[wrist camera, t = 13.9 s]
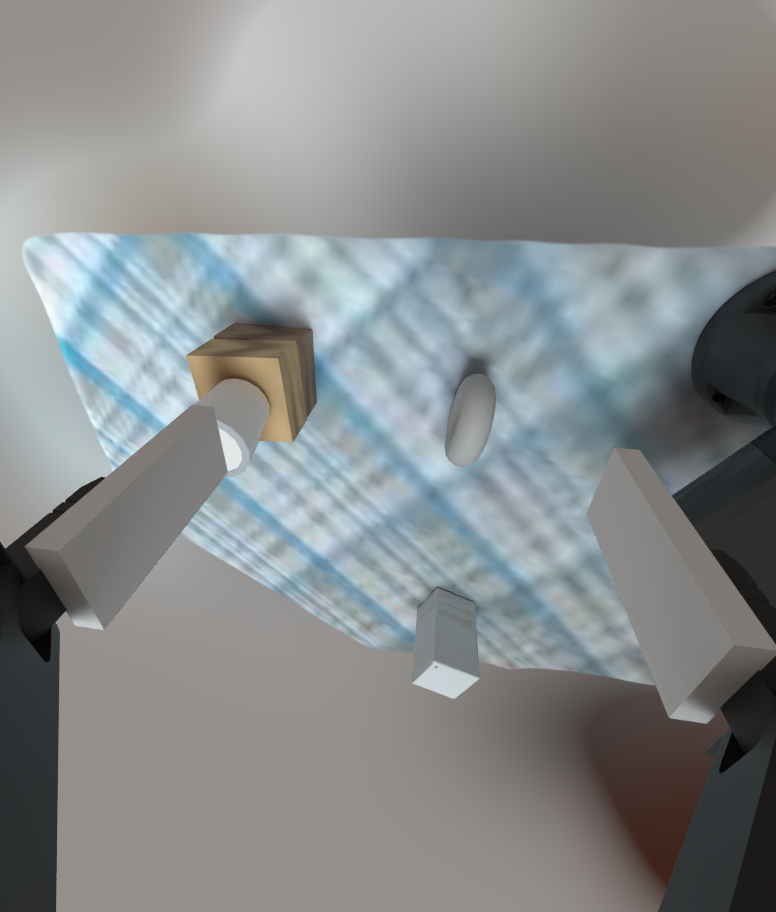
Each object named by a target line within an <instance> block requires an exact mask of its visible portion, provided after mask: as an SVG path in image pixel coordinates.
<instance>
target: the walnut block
mask: <svg viewBox="0 0 776 912" xmlns="http://www.w3.org/2000/svg"><path fill="white" fill-rule="evenodd" d="M214 339H243V340H282V341H296V346H297V353H298V359H299V366H300V373H301V380H302V387H303V394H304V401H305V408H306V415H307V417H308V416H309V414H310V412H311V411H312V409H313V408H314V406H315V404H316V403H317V402H316V384H315V367H314V350H313V332H312V330H309V329H297V328H286V327H275V326H263V325H252V324H240V323H234V324H232V325H231V326H229V327H228V328H226V329H225V330H223V331H221V332H220V333H218V334H217V335H215V336H214Z"/></svg>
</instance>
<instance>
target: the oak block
mask: <svg viewBox="0 0 776 912" xmlns="http://www.w3.org/2000/svg"><path fill="white" fill-rule="evenodd" d="M186 357H187V360H188V363H189V367H190V370H191V373H192V377H193V380H194V383H195V387H196V390H197V393H198V397H199V400H200V399H201V398H203V397H204V396H205V395H206V394H207V393H208V392H209V391H211V390H212V389H213V388H214V387H215V386H216V385H217V384H219V383H220V382H222V381H223V380H226V379H234V378H236V379H240V380H244V381H247V382H249V383H251V384H253V385H254V386H256V387H258V388H259V390H260V391H261V392H262V393H263V394H264V395H265V396H266V398H267V400H268V403H269V405H270V416H269V418H268V420H267V423H266V425H265V427H264V430H263V432H262V434H261V437H260V439H259V441H274V442H292V443H293V441H294V440H295V438H296V437H297V435H298V433H299V432H300V430H301V429H302V427H303V425H304V424H305V422H306V420H307V415H306V408H305V401H304V394H303V387H302V380H301V373H300V366H299V359H298V353H297V346H296V341H282V340H243V339H211V340H209V341H208V342H206V343H205V344H203V345H202V346H200V347H199V348H197V349H195V350H194V351H192V352H191V353H189V354H188V355H186Z"/></svg>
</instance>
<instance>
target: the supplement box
mask: <svg viewBox="0 0 776 912" xmlns="http://www.w3.org/2000/svg"><path fill="white" fill-rule="evenodd" d="M478 664H479V663H478V647H477V630H476V615H475V603H474V602H471V601H469V600H466V599H464V598H461V597H459V596H456V595H454V594H452V593H449V592H447V591H444V590H442V589H440V588H436V589H435V590H434V591H433V593H432V594H431V595H430V596H429V597H428V598H427V599H426V600H425V602H424V603H423V604H422V605H421V606H420V607H419V609H418V610H417V622H416V636H415V650H414V664H413V678H412V683H413V684H415V685H418V686H421V687H424V688H426V689H429V690H432V691H434V692H437V693H440V694H442V695H445V696H448V697H450V698H453V699H454V698H456V697H457V696H458V695H460V694H461V693H462V692H463V691H465V690H466V689H467V688H468V687H469V686H471V685H472V684H473V683H475V682H476V681H477V680H479V679H480V676H479V665H478Z"/></svg>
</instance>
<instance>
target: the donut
mask: <svg viewBox="0 0 776 912" xmlns="http://www.w3.org/2000/svg"><path fill="white" fill-rule="evenodd" d="M495 404H496V394H495V387H494V385H493V383H492V382H491V380H490V379H489V378H488V377H487V376H485V375H483V374H473V375H470V376H468V377H467V378H465V379H464V380H463V382H462V383H461V384H460V386H459V388H458V391H457V393H456V396H455V399H454V402H453V405H452V408H451V412H450V416H449V420H448V425H447V431H446V438H445V452H446V456H447V458H448V459H449V461H450V462H452V463H453V464H454V465H456V466H459V467H465V466H469V465H470V464H472V463H473V462H475V461H476V460H477V459H478V458H479V456H480V455H481V453H482V452H483V449H484V447H485V445H486V443H487V440H488V437H489V434H490V430H491V426H492V422H493V418H494V412H495Z"/></svg>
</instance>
